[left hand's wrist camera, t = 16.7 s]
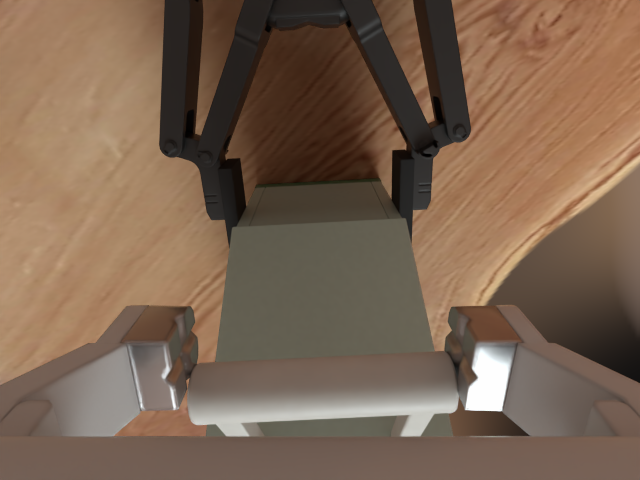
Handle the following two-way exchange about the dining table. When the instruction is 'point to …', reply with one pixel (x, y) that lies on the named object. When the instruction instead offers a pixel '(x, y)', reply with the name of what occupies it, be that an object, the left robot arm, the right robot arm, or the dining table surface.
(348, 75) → the dining table surface
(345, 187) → the chest
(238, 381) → the lid
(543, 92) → the dining table surface
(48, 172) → the dining table surface
